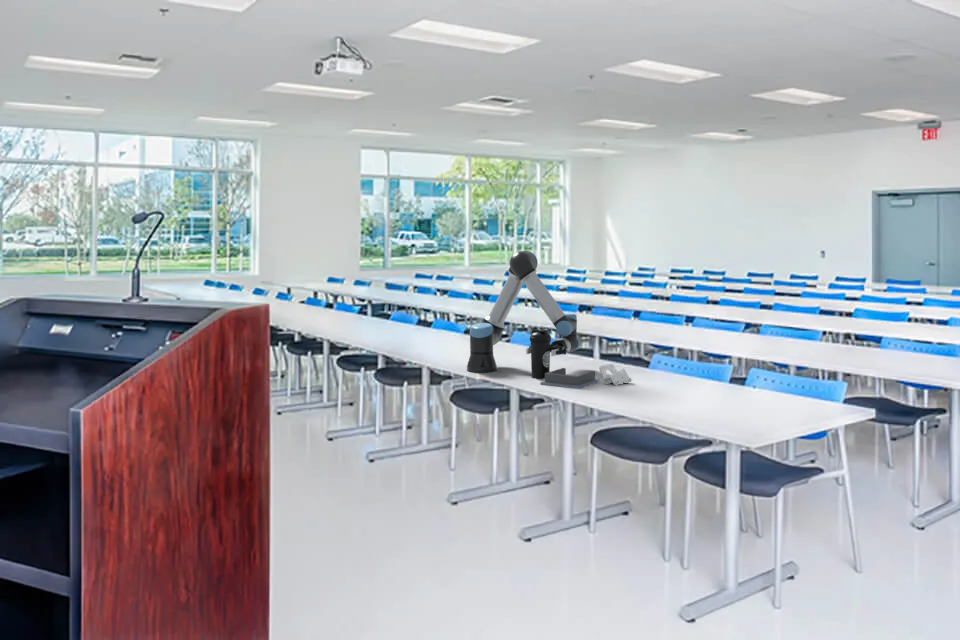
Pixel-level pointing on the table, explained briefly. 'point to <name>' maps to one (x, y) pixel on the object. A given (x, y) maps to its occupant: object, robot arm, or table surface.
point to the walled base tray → (569, 379)
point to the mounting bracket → (614, 375)
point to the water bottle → (540, 353)
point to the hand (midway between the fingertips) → (539, 352)
